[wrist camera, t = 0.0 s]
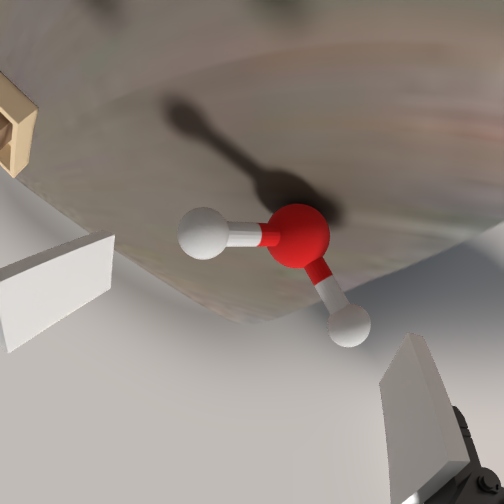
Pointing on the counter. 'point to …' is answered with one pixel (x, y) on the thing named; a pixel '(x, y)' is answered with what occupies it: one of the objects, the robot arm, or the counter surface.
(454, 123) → the counter surface
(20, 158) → the beige open tray
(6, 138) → the two-tone block
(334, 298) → the molecular model
